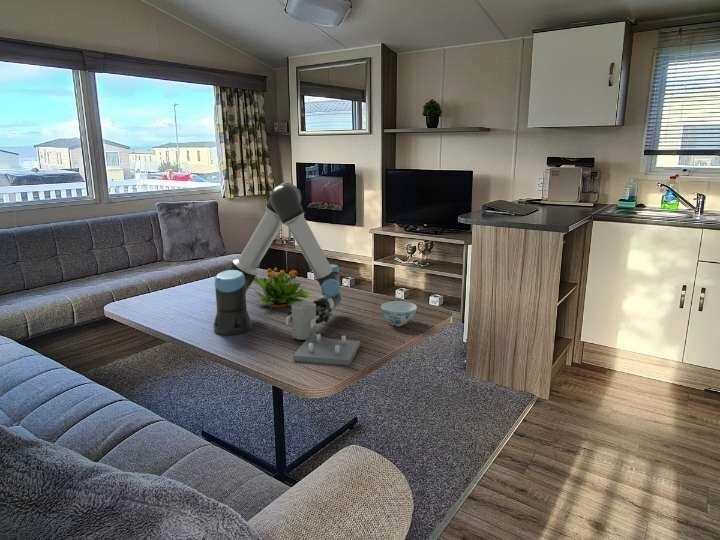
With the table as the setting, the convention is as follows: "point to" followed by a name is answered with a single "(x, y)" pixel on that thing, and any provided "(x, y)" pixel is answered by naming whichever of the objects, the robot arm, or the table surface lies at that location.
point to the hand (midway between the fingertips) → (299, 322)
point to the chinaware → (398, 311)
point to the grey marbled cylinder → (303, 320)
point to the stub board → (327, 350)
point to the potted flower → (280, 289)
